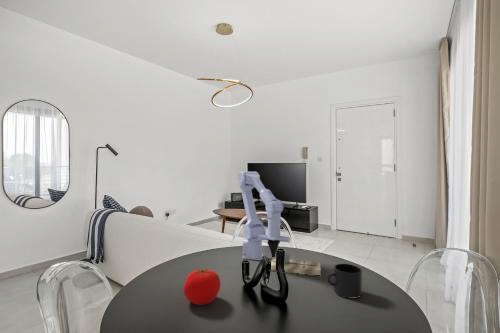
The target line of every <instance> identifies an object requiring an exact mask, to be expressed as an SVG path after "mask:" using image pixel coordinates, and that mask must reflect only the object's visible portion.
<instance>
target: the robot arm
mask: <svg viewBox="0 0 500 333" xmlns="http://www.w3.org/2000/svg"><path fill="white" fill-rule="evenodd" d="M237 179H238V180H237V181H238V185H239V188H240V191H241V197H242V200H243V205H244V211H245V215H246V219H247V222H246V223H245V225H243V228H244V230H243V231H244V232H243V233H244V239H243V241H242V257H241V258H242V259H244V260H255V261H261V260H262V259H263V257H264V254H263V251H262V250H263V248H262V247H263V241H267V245H268V247H269V249H270V254H271V258H276V254H277V249H278V248H279V244H280V243H281V242H283V243H285V242H286V243H290V242H291V236H284V235H283V236H282V235H281V220H282V218H281V217H282V215H281V213H282V212H283V211H284V208H285V207H284V203H283V201H282V200H280V199H278V198H276V197H275V195H274V194H273V193H272V191H271V190H270V189H269V188H266V187H265V186H264V184H263V182H262V181H261V175H260V174H259V172H257V171H244V170H242V171H240V172H239V174H238V177H237ZM253 189H256V190H257V192H258V193H259V197H260V199H261V200H262V203H263V204H264V205H265V211H266V216H267V218H268V219H267V231H266V228H265V226H264V223H263V222H262V221H261V220H259V219H258V214H257V211H256V205H255V202H254V197H253V192H252V190H253Z"/></svg>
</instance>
